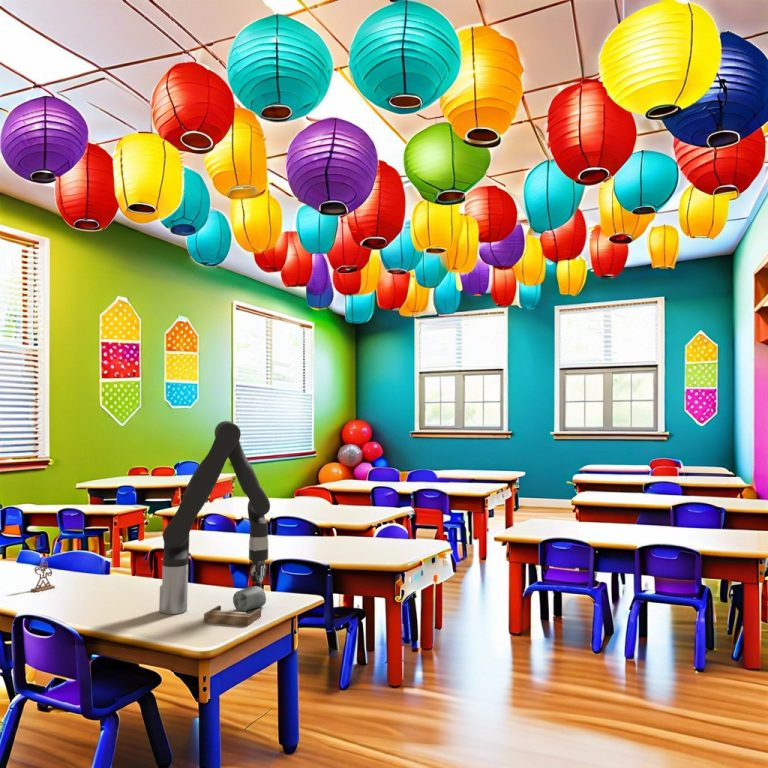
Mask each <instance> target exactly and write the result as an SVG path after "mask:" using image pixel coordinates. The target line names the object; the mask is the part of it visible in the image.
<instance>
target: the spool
mask: <svg viewBox="0 0 768 768" xmlns="http://www.w3.org/2000/svg"><path fill="white" fill-rule="evenodd" d="M266 595H267V594H266V592H265V590H264V589H263V587H262V588H261V587H258V586H255V585H254V586H248V587H245V588H243V589H241V590H237V591H236V592H235V593H233V595H232V596H233V597H232V603H233V606H234V608H235V609H236V611H237V612H245V613H246V611H247V612H248V611H249V610H250V611H251V610H253V609H256V608H260V607H263V606H264V605H265V604H266V602H267V596H266Z"/></svg>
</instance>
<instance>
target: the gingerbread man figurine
mask: <svg viewBox="0 0 768 768" xmlns="http://www.w3.org/2000/svg"><path fill="white" fill-rule="evenodd" d="M44 562H45V563H44ZM48 566H49V564H48V561H46V560H42V561H41V562H40V563H39V566H35V567H34V573H35V574H36V575H39V579H38V581H37V583H36V585H35V587H34V588H30V592H31V593H35V592H37V593H41V592H45V591H50V590H52V589H55V588H56V586H55V585H52V584H51V583H50V581H49V579H48V577H51V576H52V575H53V570H52V569H51V568H48ZM47 569H48V570H49V572H48V571H47ZM38 571H41V573H38ZM46 571H47V572H46ZM44 579H45V580H46V582H47V583H46V582H45V580H44ZM41 580H42V581H41ZM40 582H41V583H40ZM42 585H43V586H42ZM40 591H41V592H40Z"/></svg>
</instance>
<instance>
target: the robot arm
mask: <svg viewBox="0 0 768 768" xmlns="http://www.w3.org/2000/svg"><path fill="white" fill-rule="evenodd" d="M214 429H215V430H214V437H215V438H214V440H213V442H212V445H211V447H210V450H209V451H208V453H207V454H206V455H205V457H204V459H203V460H202V461H201V462H200V463H199V465H198V466H197V468H195V471H194V472H193V474H192V476H191V478H190V479H189V482H188V484H187V486H186V488H185V491H184V492H183V495H182V499H181V501H180V503H179V506H178V508H177V511H176V512H175V513H174V515H173V516H172V519H170V521H169V523H168V524H166V527H165V528H164V530H163V533H162V539H163V540H162V541H163V555H162V579H161V581H162V582H161V585H160V586H159V607H158V610H159V611H158V612H159V613H162V614H166V615H178V614H183V613H185V612H187V611H188V588H189V555H190V532H191V529H192V527H193V525H194V522H195V520H196V518H197V517H198V514H199V513H200V511H201V510H202V508H203V507H204V506H205V504H206V502H207V501H208V499H209V498H210V496H211V493H212V492H213V490H214V488H215V486H216V484H217V482H218V480H219V478H220V476H221V474H222V471H223V469H224V467H225V465H226V462H227V460H229V462H230V464H231V467H232V469H233V472H234V473H235V476H236V479H237V482H238V484H239V486H240V487H241V491H242V492H243V494H245V495H246V497H247V498H248V503H247V517H248V521H249V539H248V561H250V562H252V564H251V570H249V571H248V572H249V573H248V574H249V576H250V579H251V582H252V583H254V586H258V587H261V588H262V589H263V586H262V584H263V580H265V579H266V578H265V577H266V573H267V569H268V565H267V564H266V561H267V560H268V559H269V524H268V522H267V520H266V517H265V516H266V515H267V514H268V513H269V512H270V509H271V503H270V499H269V497H268V496H267V493H266V492H265V491H264V489H263V487H261V484H260V482H259V479H258V478H257V475H256V472H255V471H254V468H253V466H252V465H251V463H250V462H249V460H248V458H247V455H245V452H244V450H243V447H242V445H241V442H240V439H241V429H240V427H239V426H238V424H236V423H234V422H232V421H228V420H224V421H221V422H219V423H217V424H216V426H215V428H214Z"/></svg>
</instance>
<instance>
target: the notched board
mask: <svg viewBox="0 0 768 768" xmlns="http://www.w3.org/2000/svg"><path fill="white" fill-rule="evenodd" d="M260 617H261V618H262V608H258V609H256V610H254V611H252V612H251V613H249V614H248V613H247V612H246V611H245V612H239V611H228V610H222V605H217V606H216V607H213V608H211V609H210V610H208V611H206V612H205V613H204V614H203V623H209V624H220V625H234V626H243V627H244V626H247V627H248V626H251V624H254V623H255V622H257V619H258V620H259V619H261V618H260ZM254 621H255V622H254Z"/></svg>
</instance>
